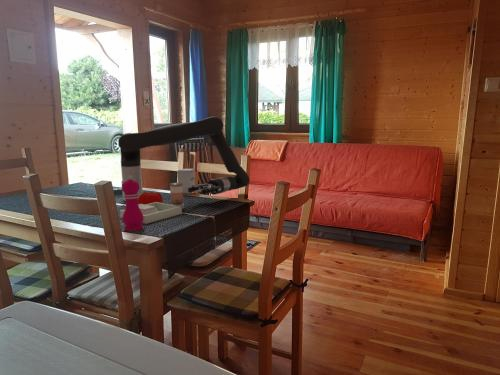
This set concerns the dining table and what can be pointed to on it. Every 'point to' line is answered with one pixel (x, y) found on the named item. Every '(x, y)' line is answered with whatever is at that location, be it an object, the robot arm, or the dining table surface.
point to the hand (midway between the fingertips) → (195, 191)
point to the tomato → (150, 198)
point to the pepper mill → (132, 205)
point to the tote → (159, 212)
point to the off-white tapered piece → (147, 209)
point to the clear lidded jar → (177, 194)
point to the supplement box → (186, 178)
